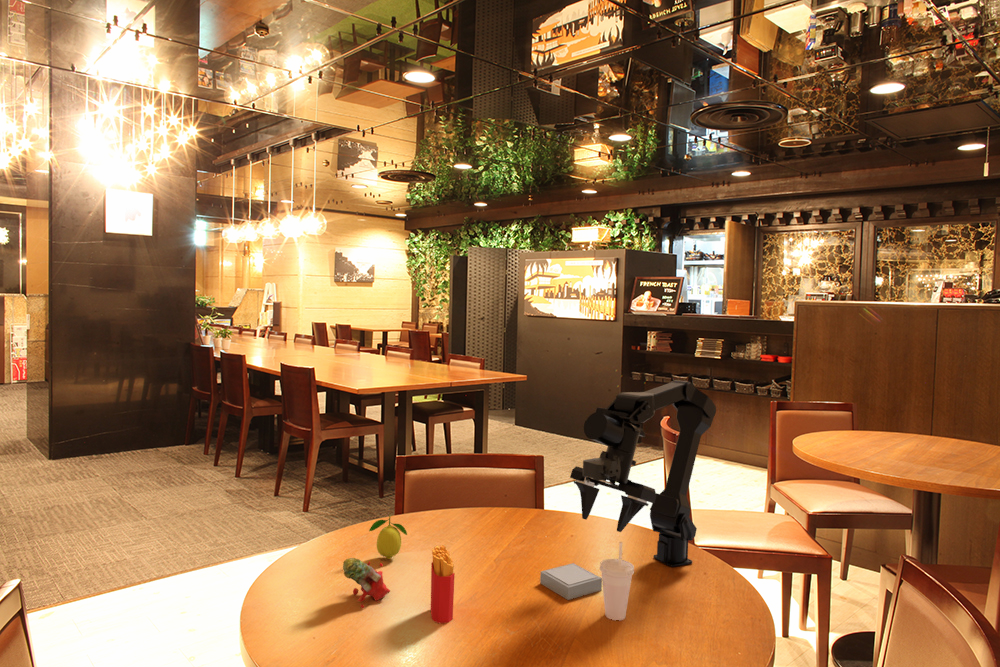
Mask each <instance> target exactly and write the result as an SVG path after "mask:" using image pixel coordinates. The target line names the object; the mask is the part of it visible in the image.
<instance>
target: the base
mask: <svg viewBox="0 0 1000 667" xmlns="http://www.w3.org/2000/svg"><path fill="white" fill-rule="evenodd" d="M539 575H540V579H539V580H540V581H539V583H540V585H543V586H544V587H546V588H548V589H549V590H551V591H552V592H554V593H555V594H557V595H559V596H561V597H563V598H564V599H566V600H567V601H569V600H574V599H576V598H580V597H583V595H584V596H586V595H590V594H593V593H596V592H600V591H603V590H602V589H603V582H602V576H601V577H600V576H599V575H596V574H595V573H593V572H591V571H589V570H587V569H586V568H583V567H581V566H580V565H578V564H576V563H574V562H572V563H568V564H565V565H561V566H556V567H553V568H548V569H545V570H541V571H540V574H539ZM573 598H574V599H573Z"/></svg>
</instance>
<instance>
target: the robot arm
mask: <svg viewBox="0 0 1000 667" xmlns="http://www.w3.org/2000/svg"><path fill="white" fill-rule="evenodd" d="M670 405H672V406H673V408H675V410H676V416H675V417H676V421H677V424H678V428H679V433H678V437H677V441H676V444H675V448H674V449H675V450H674V451H673V452H674V453H673V456H672V461H671V464H670V468H669V472H668V477H667V480H666V484H665V488H664V489H663V490H662V491H661V492H660V493H657V492H656V489H655V488H653V487H650V486H647V485H644V484H641V483H639V482H634V481H632V480H631V479H629V475H630V472H631V468H632V466H634V467H635V466H636V464H637V460H634V456H635V453H636V450H637V449H636V448H637V446H638V445H637V444H638V441H639V437H644V438H645V437H646V433H645V430H644V429H643V426H642V424H641V423H645V422H647V421H648V420H650V419H651V418H653V416H655V412H656V411H657V410H660V409H662V408H665V407H667V406H670ZM716 414H717V406H716V404H715V403H714V402H713V400H712V399H711V398H710V397H709V395H707V394H706V393H705V392H703V391H701V390H700V389H698V388H697V387H696V386H695V385H694V384H693V383H692V382H691V381H686V380H678V379H677V380H676V379H675V380H673V381H672V380H671V381H670V382H668V383H666V384H663V385H661V386H657V387H653V388H652V389H648V390H645V391H640V392H639V391H636V392H635V391H633V392H632V391H630V392H629V391H628V392H626V391H624V392H620V393H618V394H617V395H616V396H615V399H614V400H613V401H612V402H611V403H610V404H609V405H608V406H607V407H606V408H605V407H599V406H598V407H596V409H595V412H593V413H592V414H590V415H588V417H587V419H585V421H584V424H583V433H584V436H586V437H587V439H589V440H591V441H595V443H599V444H600V445H601V444H602V445H604V446H606V447H607V448H606V451H605V450H601V452H600V455H599V457H593V458H589V459H584V460H582V467H581V466H575V467H573V469H571V472H570V476H569V479H573V484H574V485H576V486H577V489H578V490H579V494H580V501H581V502H580V503H581V504H580V505H581V516H582V517H581V518H582V519H583V520H588V518H589V516H590V514H591V511H592V509H593V506H594V504H595V502H596V499H597V497H598V495H599V491H600V488H597V486H603V487H606V488H610V489H613V490H616V491H617V490H618V491H620V492H622V493H624V494H625V495H627V496H625V495H622V494H621V495H620V497H621V498H620V499H621V503H622V506H621V509H620V514H619V517H618V521H617V526H616V532H618V533H622V532H623V531H624V529H625V528H626V527H627V526H628V524H629V523H631V521H632V519H633V518H634V517H635V516H636V515H637V514H638V513H639V512H640V511H641V510H642V509H643V508H644V507H649V503H652V504H651V506H650V508H649V511H650V512H649V519H650V522H651V528H652V531H653V532H656V533H658V540H657V545H656V546H657V548H656V554H653V558H654V559H655V560H658V561H659V562H661V563H663V564H664V565H667V566H669V567H671V568H674V567H675V568H676V567H680V566H684V565H689V564H690V565H691V564H693V560H692V559H691V558H690V559H689V555H688V554H689V541H691V542H692V541H693V540H694V538H695V537H696V534H697V531H698V530H697V527H696V525H695V524H694V522H693V520H692V519H691V518H690V516H691V506H690V503H689V500H688V496H687V494H688V490H689V486H690V482H691V479H692V476H693V474H692V473H693V470H694V466H695V461H696V458H697V454H698V450H699V445H700V441H701V437H702V436H703V434H705V433H706V432H707V431H708V430H709V429H710V428H711V426H712V423H713V422H714V417H715V416H716ZM616 483H618V484H616Z"/></svg>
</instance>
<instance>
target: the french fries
mask: <svg viewBox="0 0 1000 667" xmlns="http://www.w3.org/2000/svg"><path fill="white" fill-rule="evenodd" d="M431 554H432V562H431V565H430V566H431V569H430V570H431V572H430V575H431V576H430V577H431V578H430V580H431V581H430V616H431V620H432V621H433V622H435V623H437V624H445V623H446V624H447V623H450V622H451V621H452V620H454V615H453V614H454V600H455V599H454V597H455V596H454V595H455V575H456V574H455V572H454V566H455V565H454V563H453V562H454V561H453V558H452V557H451V556H450V551H449V550H448V549H446V546H445V545H440V546H438V545H436V547H433V548H432V549H431Z"/></svg>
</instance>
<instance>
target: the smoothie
mask: <svg viewBox="0 0 1000 667" xmlns="http://www.w3.org/2000/svg"><path fill="white" fill-rule="evenodd" d="M618 545H619V546H618V558H607V559H606V558H605V559H603V560H602V561H601V562H600V563H599V570H600V572H601V578H602V589H603V590H602V592H603V603H604V614H605V617H606V618H607V619H609V620H611V619H612V621H616V620H619V621H624V620H625V619H626V615H627V608H628V604H629V603H628V602H629V595H630V591H631V586H632V585H631V584H632V583H631V582H632V577H633V575H634V574H635V566H634V564H633V563H631V562H629V560H628V561H627V560H625V559H622V558H623V542H622V541H619V543H618Z"/></svg>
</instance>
